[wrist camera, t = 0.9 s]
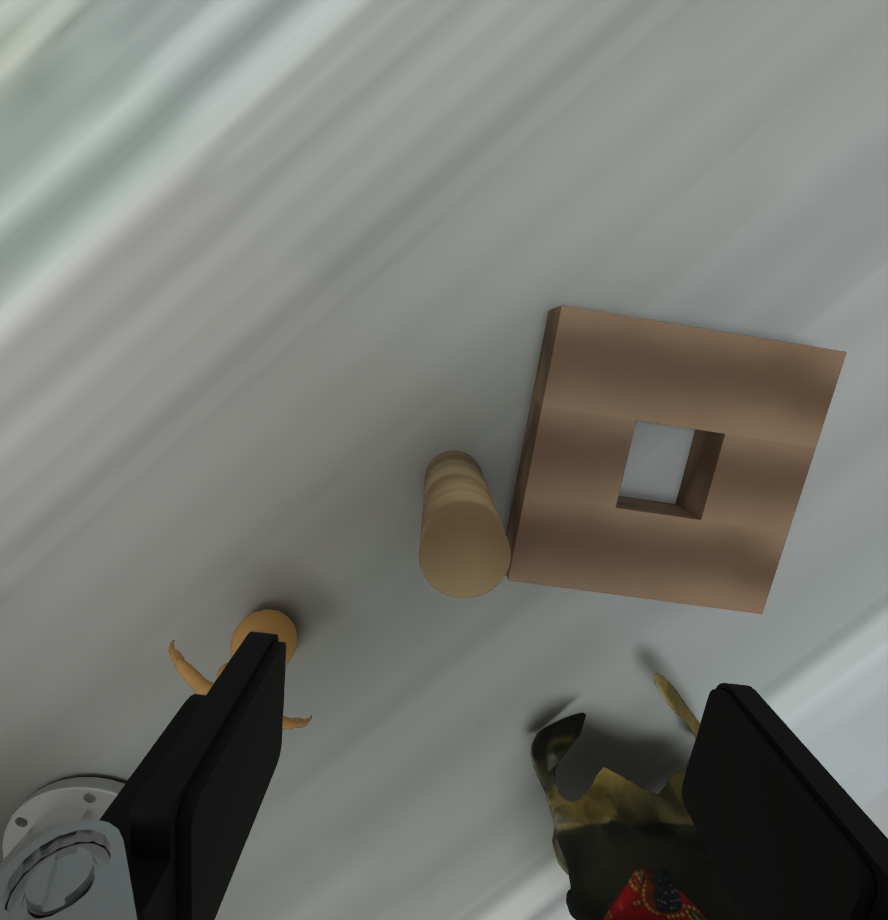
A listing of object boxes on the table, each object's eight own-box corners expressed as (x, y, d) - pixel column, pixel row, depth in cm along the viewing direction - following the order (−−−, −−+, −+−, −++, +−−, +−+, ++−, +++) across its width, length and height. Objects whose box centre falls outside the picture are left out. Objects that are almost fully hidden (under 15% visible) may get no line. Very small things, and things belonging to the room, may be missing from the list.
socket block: (732, 590, 32) (761, 613, 29) (501, 559, 32) (508, 580, 29) (805, 352, 29) (846, 351, 26) (548, 310, 28) (562, 305, 25)
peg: (476, 509, 31) (502, 603, 19) (421, 501, 31) (413, 591, 19) (486, 455, 30) (518, 519, 18) (429, 447, 30) (426, 506, 18)
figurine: (206, 616, 32) (74, 765, 20) (250, 546, 31) (138, 662, 19) (312, 676, 33) (245, 850, 22) (358, 610, 32) (314, 756, 20)
